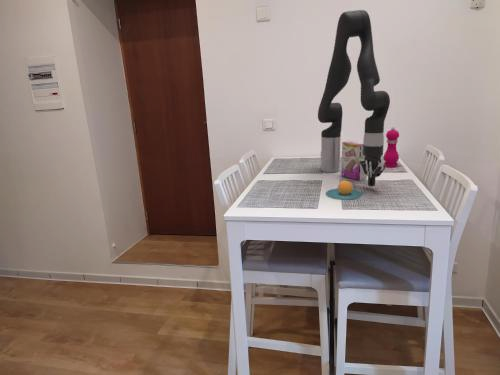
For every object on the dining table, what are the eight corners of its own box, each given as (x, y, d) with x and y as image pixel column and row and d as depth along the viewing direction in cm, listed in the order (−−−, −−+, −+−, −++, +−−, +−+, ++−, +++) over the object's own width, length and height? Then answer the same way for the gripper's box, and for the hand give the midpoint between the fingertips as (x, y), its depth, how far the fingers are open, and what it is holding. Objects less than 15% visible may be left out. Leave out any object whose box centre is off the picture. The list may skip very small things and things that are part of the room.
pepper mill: (399, 167, 167) (402, 127, 162) (384, 168, 169) (386, 127, 163) (396, 164, 174) (399, 125, 168) (381, 164, 176) (384, 126, 170)
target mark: (319, 191, 139) (319, 191, 139) (348, 186, 143) (348, 186, 143) (337, 201, 126) (337, 201, 126) (369, 196, 130) (369, 195, 130)
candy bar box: (340, 176, 159) (341, 141, 154) (348, 174, 161) (349, 140, 157) (359, 181, 150) (360, 144, 145) (367, 179, 152) (368, 143, 147)
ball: (333, 183, 134) (345, 176, 135) (338, 195, 136) (349, 188, 137) (340, 186, 129) (352, 179, 130) (345, 198, 131) (357, 191, 131)
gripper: (355, 142, 137) (353, 183, 142) (376, 147, 125) (374, 191, 130) (370, 140, 140) (368, 180, 145) (393, 145, 127) (390, 188, 132)
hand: (371, 185), depth 137 cm, fingers closed
